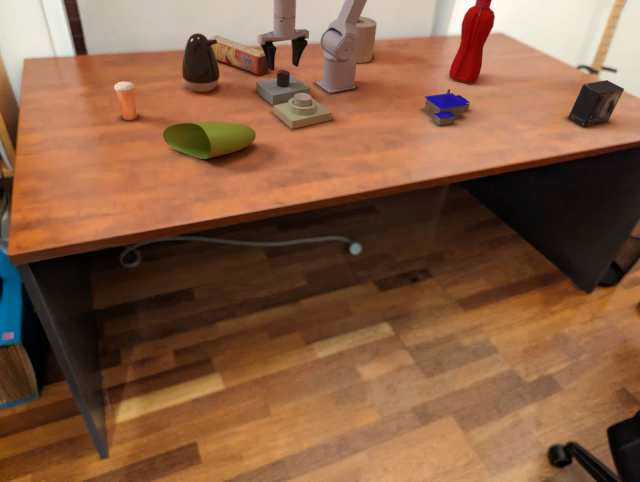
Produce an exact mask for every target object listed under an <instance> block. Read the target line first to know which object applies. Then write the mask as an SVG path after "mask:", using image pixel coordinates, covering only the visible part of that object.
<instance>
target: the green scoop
mask: <svg viewBox="0 0 640 482" xmlns="http://www.w3.org/2000/svg"><path fill="white" fill-rule="evenodd" d="M162 137H163V140H164V142H165V143H166V144H167V145H168V146H169V147H171V148H173V149H174V150H176V151H178V152H181V153H183V154H185V155H188V156H190V157H193V158H197V159H200V160H207V159H211V158H216V157H220V156H225V155H228V154H232V153H235V152H238V151H240V150H243V149H245V148H247V147H248V146H250V145H252V143H254V141H255V140H256V137H257V134H256V131H255V130H254V129H253V128H252V127H251V126H248V125H246V124H240V123H235V122H224V121H223V122H219V121H217V122H214V121H212V122H211V121H209V122H208V121H207V122H182V123H181V122H180V123H176V124H172V125H170V126H167V127H166V128H165V129H164V130H163V133H162Z"/></svg>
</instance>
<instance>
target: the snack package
mask: <svg viewBox="0 0 640 482" xmlns="http://www.w3.org/2000/svg"><path fill="white" fill-rule="evenodd" d="M214 39H216V40H217V43H216V44H213V45H211V46H212V48H213V50H214V53H215V56H216V59H217V61H219V62H222V63H224V64H227V65H231V66H232V67H236V68H239V69H241V70H244V71H247V72H250V73H252V74H254V75H257V76H261V75H263V74H265V73H267V72H268V71H269V70H270V69H269V68H268V63H267V59H266V56H265V53H264V51H263V50H260V49H258V48H257V49H256V48H254V47H252V46H249V45H246V44H242V43H240V42H237V41H234V40H231V39H229V38H225V37H223V36H221V35H213V36H211V37H210V38H209V39H208V40H214Z"/></svg>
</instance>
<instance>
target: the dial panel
mask: <svg viewBox="0 0 640 482" xmlns="http://www.w3.org/2000/svg"><path fill="white" fill-rule="evenodd" d="M255 90H256V91H255V92H256V93H257V94H259V96H260V97H262V98H263V99H264V100H266V102H268V103H269V104H270V105H272V106H273V105H278V104H283V103H288V100H290V99H291V98H293V97H294V95H295V94H297V93H306V94H309V95H311V94H310V93H311V87H310V86H308V85H306V84H305V83H304V82H303V81H301V80H299V79H298V78H297V77H296V76H294V75H290V81H289V86H288V87H279V86H277V77H275V78H270V79H263V80H258V81H256V82H255Z"/></svg>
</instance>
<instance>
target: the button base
mask: <svg viewBox="0 0 640 482" xmlns="http://www.w3.org/2000/svg"><path fill="white" fill-rule="evenodd" d="M272 106H273V107H272V109H273V110H272V111H273V112H272V113H273V114H274V115H275V116H276V117H277V118H278V119H280V120H281V121H282V122H283V123H284V124H286V125H287V126H288V128H290V129H291V130H293V129H298V128H303V127H305V126H306V127H307V126H312V125H315V124H319V123H324V122H328V121H331V119H332V112H331V111H330V110H329V109H327V108H326V107H325V106H323V105H322V104H321V103H319V102H318V101H316V100H315V99H314V98H313V97H312V100H311V106H308V107H299V106H296V105H294V97H293V98H291V99H290V100H288V103H283V104H278V105H272Z"/></svg>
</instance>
